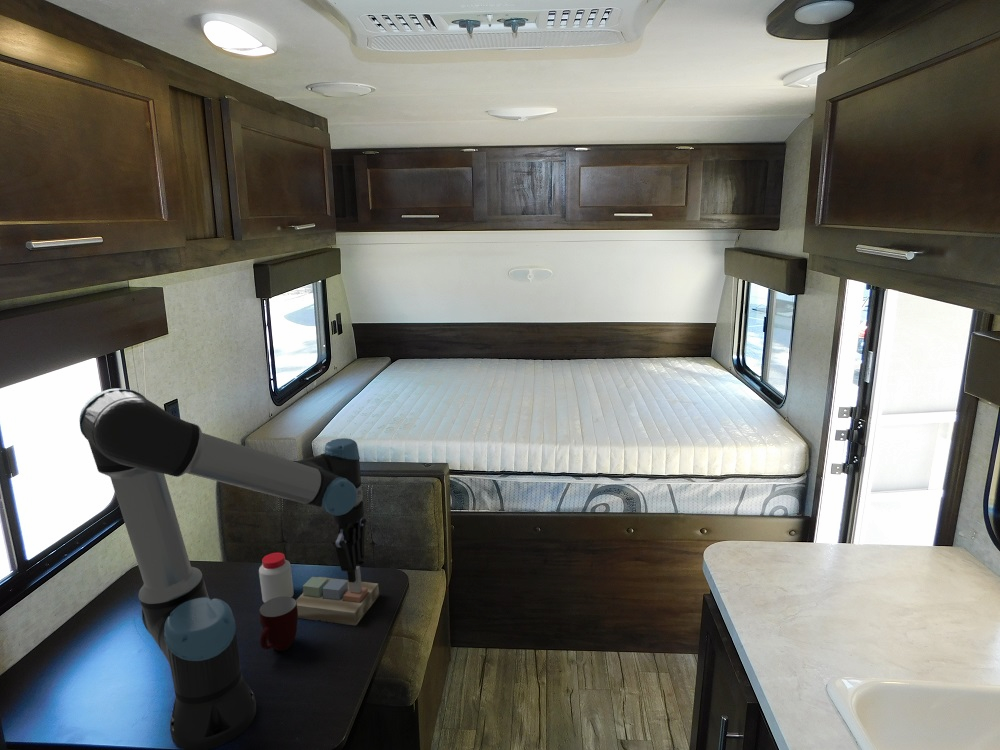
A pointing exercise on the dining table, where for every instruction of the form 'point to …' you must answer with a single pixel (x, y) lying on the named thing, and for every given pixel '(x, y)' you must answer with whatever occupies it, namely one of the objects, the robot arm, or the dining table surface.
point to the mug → (278, 623)
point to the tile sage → (314, 587)
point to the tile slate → (335, 589)
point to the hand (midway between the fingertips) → (355, 590)
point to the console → (337, 606)
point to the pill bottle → (275, 577)
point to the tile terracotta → (355, 596)
